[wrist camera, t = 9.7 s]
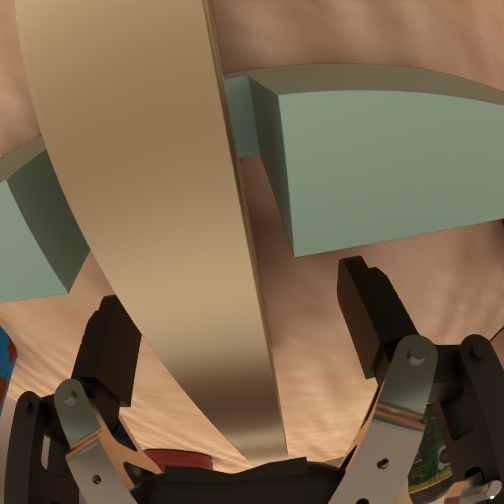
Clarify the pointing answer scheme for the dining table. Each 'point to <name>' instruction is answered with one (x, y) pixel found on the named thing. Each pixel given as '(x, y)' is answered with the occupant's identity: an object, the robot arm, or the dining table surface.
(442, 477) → the coffee jar
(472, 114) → the sage green notched block
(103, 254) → the brass bar
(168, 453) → the canister
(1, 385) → the thermos
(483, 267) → the dining table surface
